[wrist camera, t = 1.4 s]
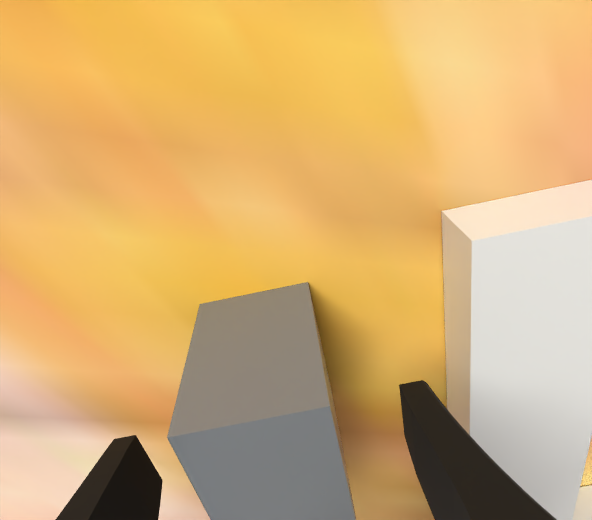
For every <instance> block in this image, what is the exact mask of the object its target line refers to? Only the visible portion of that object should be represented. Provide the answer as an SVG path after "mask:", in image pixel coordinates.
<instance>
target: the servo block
mask: <svg viewBox="0 0 592 520" xmlns="http://www.w3.org/2000/svg"><path fill="white" fill-rule="evenodd" d="M167 438H168V440H169V442H170V444H171V446H172V448H173V450H174V451H175V453H176V455H177V457H178V459H179V461H180V463H181V465H182V467H183V468H184V470H185V472H186V474H187V476H188V478H189V480H190V482H191V483H192V485H193V487H194V489H195V491H196V493H197V495H198V497H199V499H200V500H201V502H202V504H203V506H204V508H205V510H206V512H207V514H208V516H209V517H210V519H211V520H356V516H355V511H354V506H353V500H352V495H351V490H350V484H349V479H348V474H347V469H346V463H345V458H344V453H343V447H342V442H341V437H340V432H339V426H338V421H337V416H336V410H335V405H334V400H333V395H332V390H331V385H330V381H329V376H328V372H327V367H326V362H325V358H324V353H323V349H322V344H321V339H320V335H319V330H318V326H317V321H316V316H315V312H314V307H313V303H312V298H311V294H310V289H309V284H308V282H306V283H301V284H297V285H292V286H287V287H282V288H277V289H272V290H267V291H262V292H257V293H252V294H248V295H243V296H238V297H233V298H228V299H223V300H218V301H213V302H208V303H204V304H200V306H199V310H198V314H197V318H196V322H195V326H194V330H193V334H192V338H191V343H190V347H189V351H188V355H187V359H186V363H185V367H184V371H183V375H182V379H181V383H180V387H179V391H178V395H177V400H176V404H175V408H174V412H173V416H172V420H171V424H170V428H169V432H168V436H167Z"/></svg>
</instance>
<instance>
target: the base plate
mask: <svg viewBox="0 0 592 520" xmlns="http://www.w3.org/2000/svg"><path fill="white" fill-rule="evenodd" d="M442 243H443V279H444V314H445V350H446V385H447V410H448V411H449V412H450V413H451V415H452V416H453V417H454V418H455V419H456V420H457V422H458V423H459V424H460V425H461V426H462V427H463V428H464V430H465V431H466V432H467V433H468V434H469V435H470V436H471V437H472V438H473V439H474V440H475V442H476V443H477V444H478V445H479V446H480V447H481V448H482V449H483V450H484V451H485V452H486V453H487V454H488V455H489V456H490V457H491V458H492V459H493V460H494V462H495V463H496V464H497V465H498V466H499V467H500V468H501V469H502V470H503V471H505V472H506V473H507V474H508V475H509V476H510V477H511V478H512V479H513V480H514V481H515V482H516V483H517V484H518V485H519V486H520V487H521V488H522V489H523V490H524V491H525V492H526V493H527V494H529V495H530V496H531V497H532V498H533V499H534V500H535V501H536V502H537V503H538V504H540V505H541V506H542V507H543V508H544V509H545V510H546V511H547V512H549V513H550V514H551V515H552V516H553V517H554V518H555V519H557V520H592V485H589V486H583V487H580V484H581V480H582V476H583V471H584V467H585V463H586V458H587V454H588V450H589V445H590V441H591V436H592V180H588V181H583V182H578V183H573V184H569V185H564V186H559V187H554V188H549V189H545V190H540V191H535V192H530V193H526V194H521V195H516V196H511V197H506V198H502V199H497V200H492V201H487V202H482V203H478V204H473V205H468V206H463V207H459V208H454V209H449V210H444V211H442Z"/></svg>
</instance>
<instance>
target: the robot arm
mask: <svg viewBox="0 0 592 520" xmlns="http://www.w3.org/2000/svg"><path fill="white" fill-rule="evenodd" d="M399 386H400V396H401V405H402V415H403V424H404V434H405V438H406V442H407V445H408V448H409V452H410V455H411V458H412V461H413V465H414V468H415V471H416V474H417V477H418V480H419V482H420V484H421V487H422V489H423V492H424V494H425V497H426V499H427V502H428V504H429V507H430V509H431V511H432V514H433V516H434V519H435V520H557V519H555V518H554V517H553V516H552V515H551V514H550V513H549V512H547V511H546V510H545V509H544V508H543V507H542V506H541V505H540V504H538V503H537V502H536V501H535V500H534V499H533V498H532V497H531V496H530V495H529V494H527V493H526V492H525V491H524V490H523V489H522V488H521V487H520V486H519V485H518V484H517V483H516V482H515V481H514V480H513V479H512V478H511V477H510V476H509V475H508V474H507V473H506V472H505V471H503V470H502V469H501V468H500V467H499V466H498V465H497V464H496V463H495V462H494V460H493V459H492V458H491V457H490V456H489V455H488V454H487V453H486V452H485V451H484V450H483V449H482V448H481V447H480V446H479V445H478V444H477V443H476V442H475V440H474V439H473V438H472V437H471V436H470V435H469V434H468V433H467V432H466V431H465V430H464V428H463V427H462V426H461V425H460V424H459V423H458V422H457V420H456V419H455V418H454V417H453V416H452V415H451V413H450V412H449V411H448V410H447V409H446V407H445V406H444V405H443V404H442V402H441V401H440V400H439V399H438V397H437V396H436V395H435V393H434V392H433V391H432V390H431V388H430V387H429V385H428V384H427V383H426V382H424V381H423V380H421V381H416V382H411V383H406V384H400V385H399ZM161 490H162V479H161V477H160V475H159V474H158V472H157V470H156V469H155V467H154V465H153V464H152V462H151V460H150V458H149V457H148V455H147V453H146V452H145V450H144V448H143V447H142V445H141V443H140V442H139V440H138V438H137V437H136V435H133V436H128V437H123V438H118V439H114V440H113V441H112V443H111V444H110V445H109V447H108V448H107V449H106V451H105V452H104V453H103V455H102V456H101V458H100V459H99V460H98V462H97V463H96V465H95V466H94V467H93V469H92V470H91V472H90V473H89V475H88V476H87V477H86V479H85V480H84V481H83V483H82V484H81V486H80V487H79V488H78V490H77V491H76V493H75V494H74V495H73V497H72V498H71V499H70V501H69V502H68V504H67V505H66V506H65V508H64V509H63V510H62V512H61V513H60V514H59V516H58V517H57V519H56V520H158V516H159V508H160V500H161Z"/></svg>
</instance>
